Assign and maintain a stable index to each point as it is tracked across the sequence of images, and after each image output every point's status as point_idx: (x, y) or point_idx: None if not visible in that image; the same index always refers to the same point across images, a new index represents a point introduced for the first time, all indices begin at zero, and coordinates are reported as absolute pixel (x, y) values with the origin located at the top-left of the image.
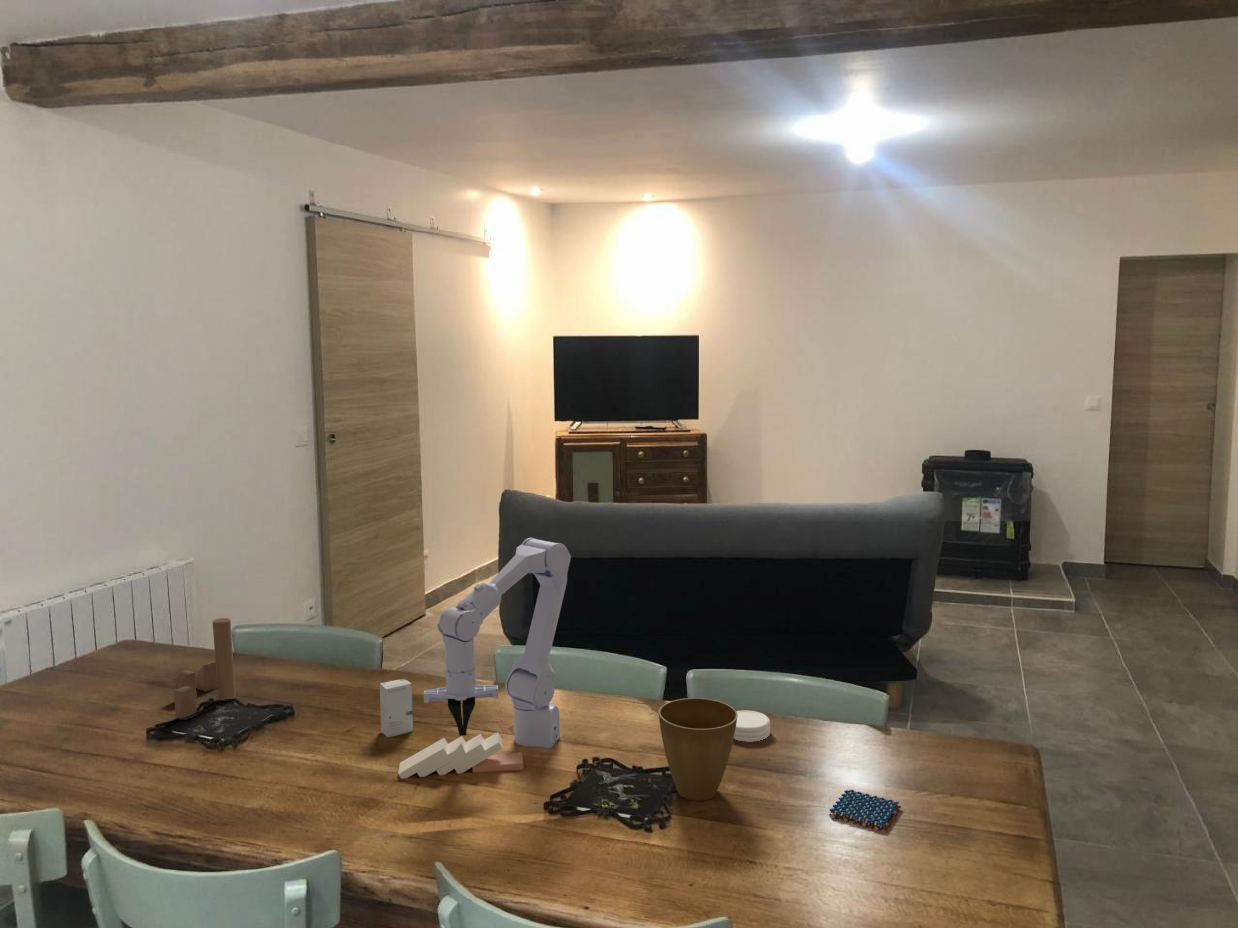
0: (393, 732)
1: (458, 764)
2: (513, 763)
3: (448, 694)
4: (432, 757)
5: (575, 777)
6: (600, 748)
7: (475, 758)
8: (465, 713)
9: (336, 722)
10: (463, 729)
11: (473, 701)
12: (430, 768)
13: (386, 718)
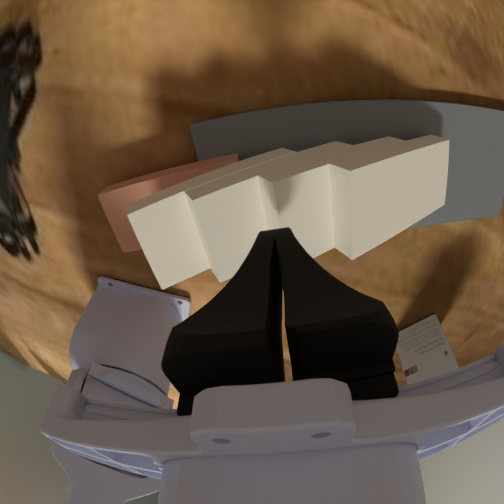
0: (431, 330)
1: (283, 157)
2: (119, 189)
3: (423, 433)
4: (380, 156)
5: (21, 180)
6: (38, 286)
7: (223, 173)
8: (248, 298)
9: (473, 350)
10: (269, 241)
11: (181, 383)
12: (373, 144)
13: (451, 349)
